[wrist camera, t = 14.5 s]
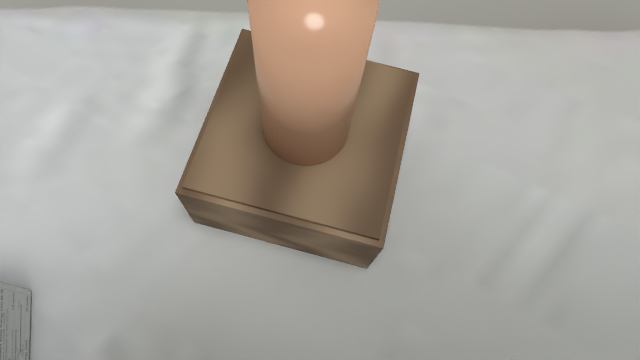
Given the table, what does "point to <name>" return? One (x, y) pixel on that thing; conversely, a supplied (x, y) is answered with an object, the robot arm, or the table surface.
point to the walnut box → (300, 168)
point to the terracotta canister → (309, 72)
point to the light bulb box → (14, 322)
